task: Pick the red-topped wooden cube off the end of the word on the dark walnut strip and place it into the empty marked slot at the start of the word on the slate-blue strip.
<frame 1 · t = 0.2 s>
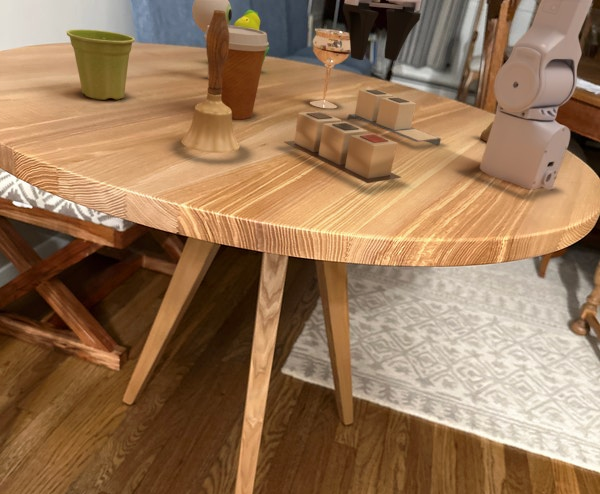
hand: (373, 59, 89), 10 cm above the table, tool pointing down, fingers open, 7 cm apart
lollipop: (209, 79, 109), on the table
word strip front: (338, 166, 73), on the table
wineglass: (323, 105, 102), on the table
hand bell: (210, 152, 72), on the table
chocolate bunny: (504, 145, 94), on the table
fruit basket: (239, 69, 122), on the table
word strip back: (391, 132, 92), on the table
red-topped wooden cube: (367, 171, 69), point 1 cm above the table, touching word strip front
disposable coffee cup: (231, 114, 88), on the table
plant pot: (103, 97, 88), on the table
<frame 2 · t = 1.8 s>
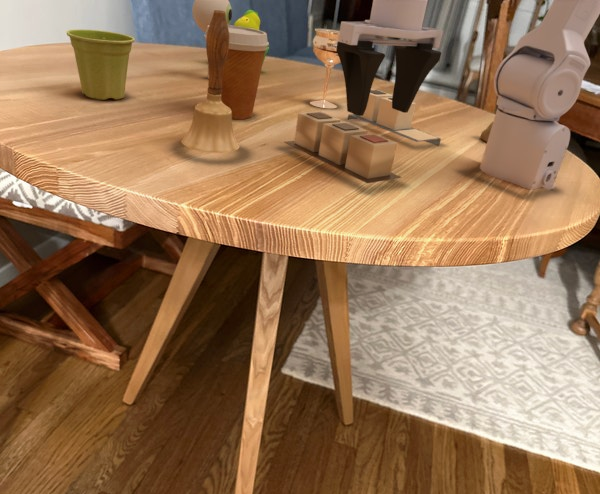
hand: (378, 111, 67), 8 cm above the table, tool pointing down, fingers open, 7 cm apart
nothing on the table moved.
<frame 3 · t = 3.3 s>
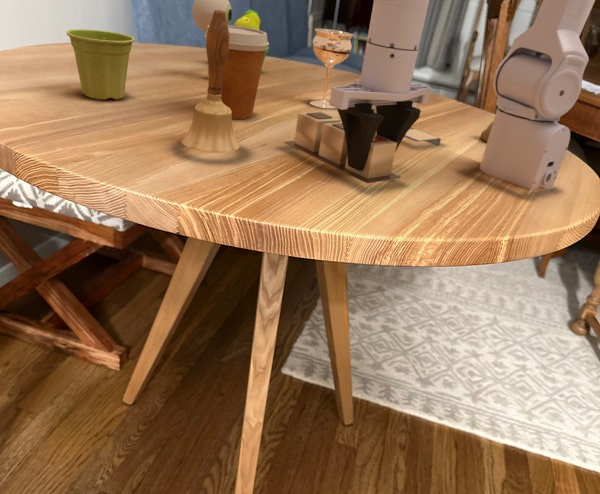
hand: (368, 165, 69), 2 cm above the table, tool pointing down, fingers closed on red-topped wooden cube, 4 cm apart
red-topped wooden cube: (367, 171, 69), point 1 cm above the table, touching gripper, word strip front
everything else where it was.
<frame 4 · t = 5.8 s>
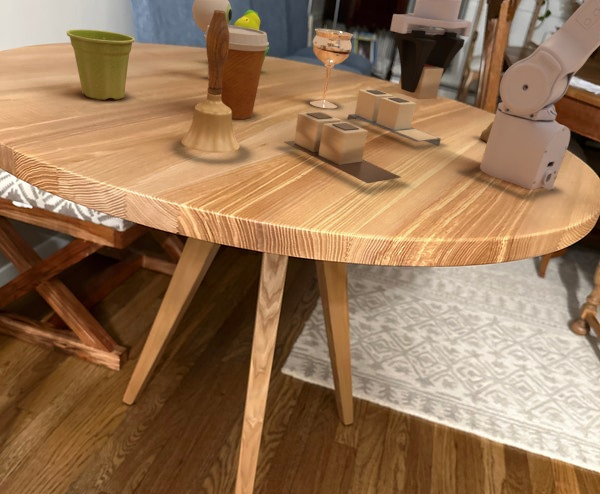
hand: (418, 90, 79), 8 cm above the table, tool pointing down, fingers closed on red-topped wooden cube, 4 cm apart
red-topped wooden cube: (416, 95, 80), point 8 cm above the table, touching gripper
everything else where it was.
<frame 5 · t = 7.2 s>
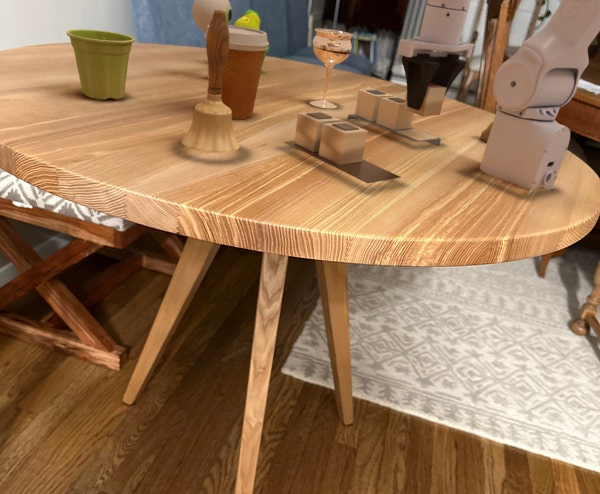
hand: (423, 107, 86), 5 cm above the table, tool pointing down, fingers closed on red-topped wooden cube, 4 cm apart
red-topped wooden cube: (421, 112, 86), point 4 cm above the table, touching gripper
everything else where it was.
when the fingers open (2 cm above the table, at t = 8.6 s): red-topped wooden cube stays where it is, resting on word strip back.
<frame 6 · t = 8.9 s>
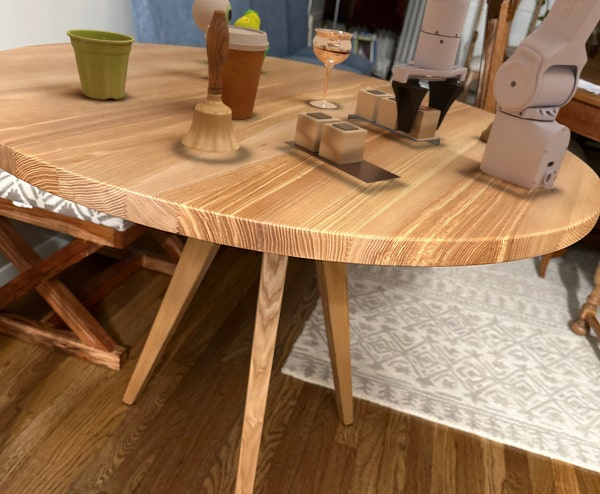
hand: (418, 129, 87), 2 cm above the table, tool pointing down, fingers open, 6 cm apart
red-topped wooden cube: (416, 134, 88), point 1 cm above the table, touching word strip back
everything else where it was.
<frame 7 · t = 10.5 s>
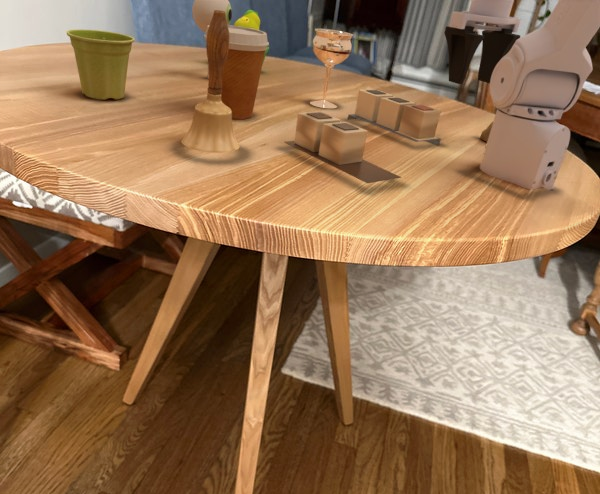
hand: (470, 82, 86), 9 cm above the table, tool pointing down, fingers open, 7 cm apart
nothing on the table moved.
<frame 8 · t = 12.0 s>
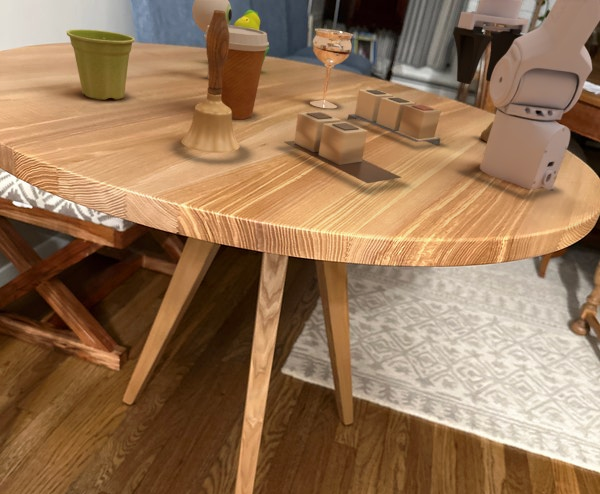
hand: (478, 82, 86), 9 cm above the table, tool pointing down, fingers open, 7 cm apart
nothing on the table moved.
at the end: red-topped wooden cube 0.1 cm from the target spot on the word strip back, point 1.1 cm above the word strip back's base; red-topped wooden cube tilted 0°; the gripper is holding nothing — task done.
